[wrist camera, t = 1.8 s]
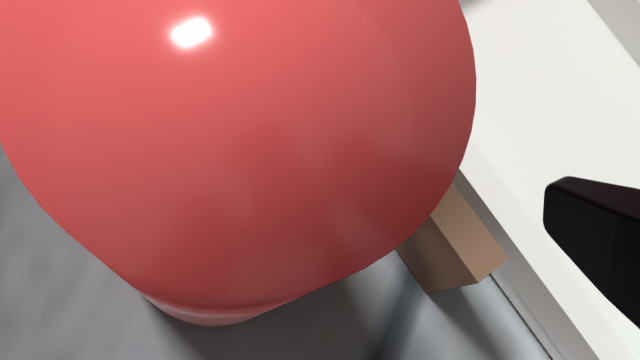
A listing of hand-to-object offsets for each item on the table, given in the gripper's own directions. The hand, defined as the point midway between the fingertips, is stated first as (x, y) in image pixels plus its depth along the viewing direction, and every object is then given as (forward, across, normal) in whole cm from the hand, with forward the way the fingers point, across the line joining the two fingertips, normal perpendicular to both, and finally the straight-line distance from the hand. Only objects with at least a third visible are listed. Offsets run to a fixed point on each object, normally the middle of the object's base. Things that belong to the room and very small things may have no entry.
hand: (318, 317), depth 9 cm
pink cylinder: (+10, 0, +5) cm, 11 cm away
